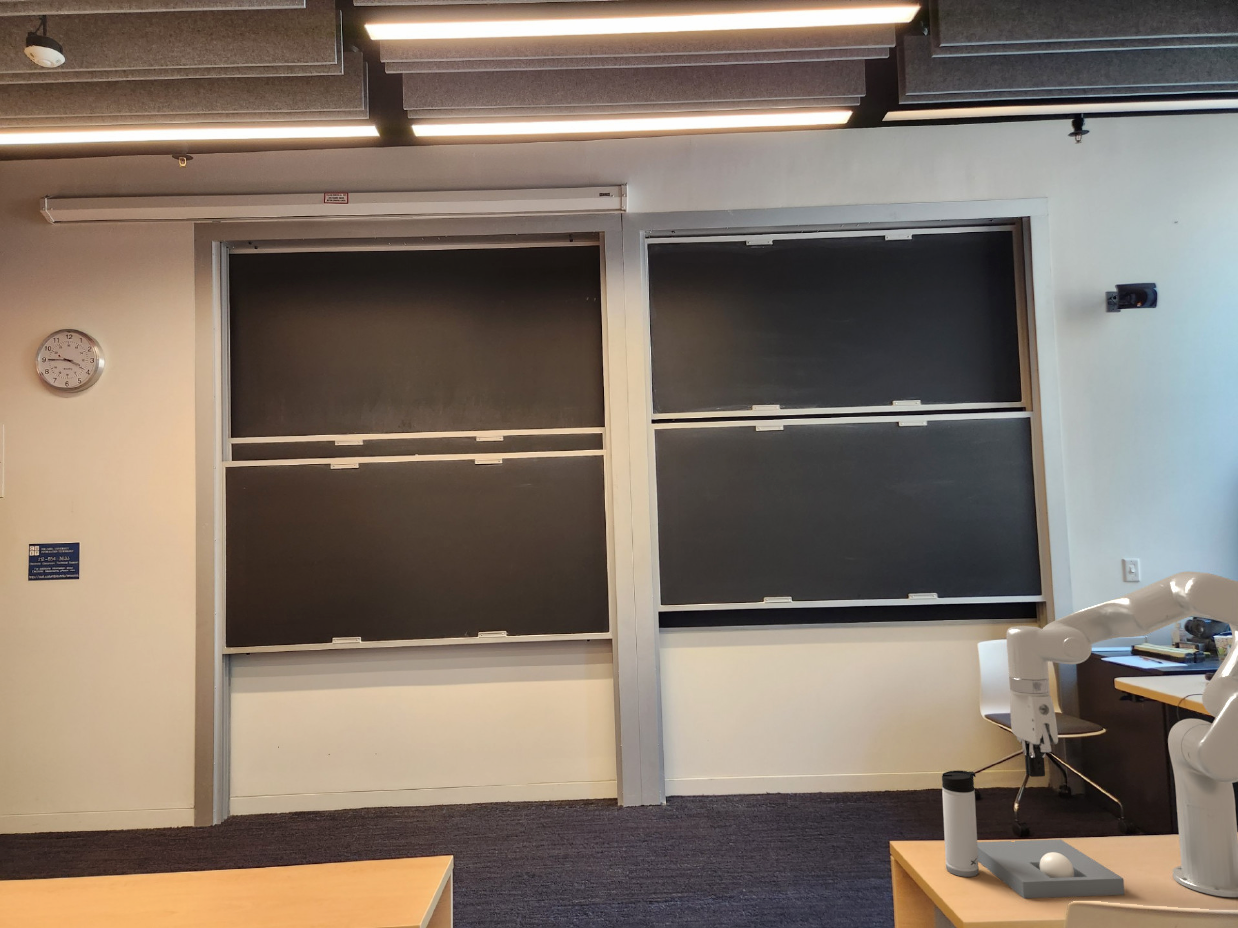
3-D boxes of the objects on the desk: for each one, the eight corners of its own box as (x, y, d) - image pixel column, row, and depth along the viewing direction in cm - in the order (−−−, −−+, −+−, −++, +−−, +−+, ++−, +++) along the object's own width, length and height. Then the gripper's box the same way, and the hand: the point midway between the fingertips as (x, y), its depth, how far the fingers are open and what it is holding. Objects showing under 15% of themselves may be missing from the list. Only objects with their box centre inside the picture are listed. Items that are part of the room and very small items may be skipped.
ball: (1063, 845, 161) (1081, 863, 155) (1061, 872, 162) (1079, 892, 156) (1034, 846, 161) (1051, 864, 155) (1032, 873, 161) (1049, 893, 155)
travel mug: (983, 878, 161) (978, 776, 163) (949, 875, 162) (944, 775, 164) (976, 865, 167) (971, 768, 169) (943, 863, 168) (938, 766, 170)
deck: (1061, 853, 173) (1060, 839, 173) (1124, 894, 153) (1123, 878, 153) (972, 856, 172) (971, 842, 172) (1023, 898, 152) (1022, 881, 152)
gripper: (1068, 691, 161) (1075, 785, 159) (1026, 679, 175) (1032, 764, 174) (1032, 693, 160) (1039, 787, 158) (993, 680, 175) (999, 766, 173)
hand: (1035, 775), depth 166 cm, fingers closed
